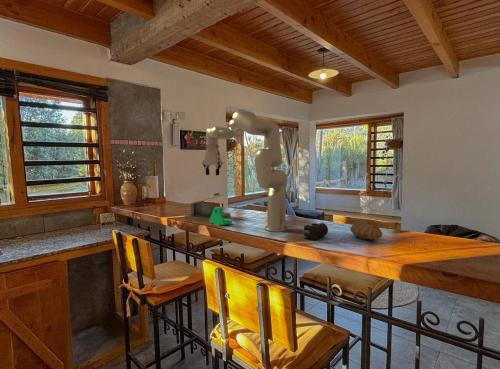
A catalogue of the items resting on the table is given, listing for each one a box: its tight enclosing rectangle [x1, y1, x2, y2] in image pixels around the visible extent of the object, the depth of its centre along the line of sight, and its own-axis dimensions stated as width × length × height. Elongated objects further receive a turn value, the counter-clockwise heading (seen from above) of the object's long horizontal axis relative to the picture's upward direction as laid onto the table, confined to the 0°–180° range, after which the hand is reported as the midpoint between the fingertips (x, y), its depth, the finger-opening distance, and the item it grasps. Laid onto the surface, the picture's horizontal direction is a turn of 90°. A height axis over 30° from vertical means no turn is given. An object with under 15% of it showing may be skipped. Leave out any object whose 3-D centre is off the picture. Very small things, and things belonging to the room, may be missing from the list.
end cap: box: [303, 222, 329, 241], centre depth 130 cm, size 10×7×7 cm
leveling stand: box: [184, 200, 231, 222], centre depth 183 cm, size 22×20×10 cm
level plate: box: [190, 192, 225, 204], centre depth 182 cm, size 17×14×2 cm
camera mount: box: [208, 206, 233, 226], centre depth 163 cm, size 12×8×10 cm, turn 48°
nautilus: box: [349, 220, 383, 241], centre depth 131 cm, size 8×22×15 cm
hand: (212, 174), depth 183 cm, fingers open, 6 cm apart
